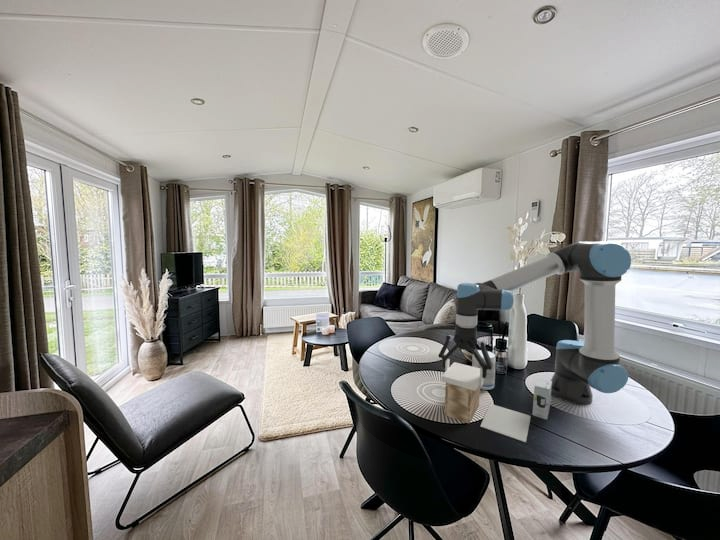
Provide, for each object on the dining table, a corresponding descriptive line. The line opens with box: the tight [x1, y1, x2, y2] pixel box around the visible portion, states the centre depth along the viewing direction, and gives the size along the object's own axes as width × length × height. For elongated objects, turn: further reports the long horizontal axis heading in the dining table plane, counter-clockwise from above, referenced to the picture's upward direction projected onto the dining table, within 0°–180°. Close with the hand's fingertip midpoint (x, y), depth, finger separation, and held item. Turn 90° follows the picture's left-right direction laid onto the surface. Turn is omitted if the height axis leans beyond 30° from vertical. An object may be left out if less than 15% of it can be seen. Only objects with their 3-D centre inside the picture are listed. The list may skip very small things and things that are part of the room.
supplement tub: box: [471, 349, 496, 391], centre depth 130 cm, size 10×10×15 cm
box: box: [444, 382, 481, 424], centre depth 111 cm, size 9×14×13 cm, turn 145°
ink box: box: [531, 377, 552, 420], centre depth 110 cm, size 9×5×12 cm, turn 141°
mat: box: [480, 403, 532, 444], centre depth 105 cm, size 14×17×1 cm
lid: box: [440, 361, 480, 391], centre depth 110 cm, size 12×15×3 cm
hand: (463, 380), depth 111 cm, fingers closed on lid, 12 cm apart
